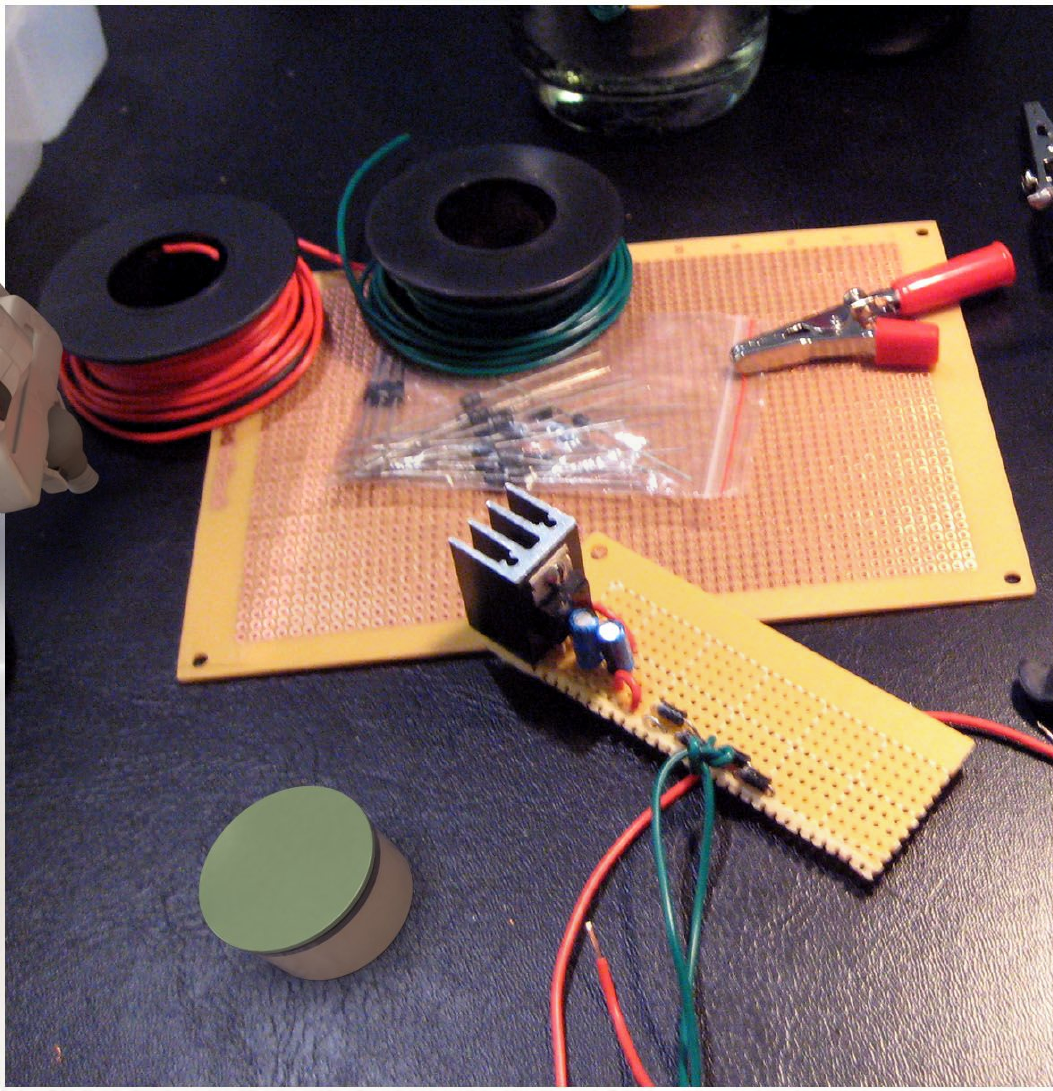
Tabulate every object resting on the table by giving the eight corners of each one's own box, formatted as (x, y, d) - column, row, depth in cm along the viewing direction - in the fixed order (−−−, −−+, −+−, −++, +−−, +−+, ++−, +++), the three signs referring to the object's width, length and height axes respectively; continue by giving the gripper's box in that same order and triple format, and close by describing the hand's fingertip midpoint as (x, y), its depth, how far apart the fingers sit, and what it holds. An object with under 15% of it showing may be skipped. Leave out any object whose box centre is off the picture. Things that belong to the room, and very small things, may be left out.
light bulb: (107, 510, 109) (41, 440, 101) (41, 512, 109) (-30, 442, 101) (130, 458, 113) (68, 386, 104) (66, 460, 113) (-2, 388, 104)
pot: (255, 1004, 86) (193, 972, 79) (260, 852, 92) (202, 809, 85) (421, 959, 87) (374, 924, 80) (414, 812, 93) (370, 767, 86)
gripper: (-59, 273, 102) (40, 384, 113) (-103, 454, 91) (11, 557, 102) (21, 258, 103) (111, 370, 114) (-13, 436, 91) (90, 540, 103)
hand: (63, 460), depth 108 cm, fingers closed on light bulb, 5 cm apart
